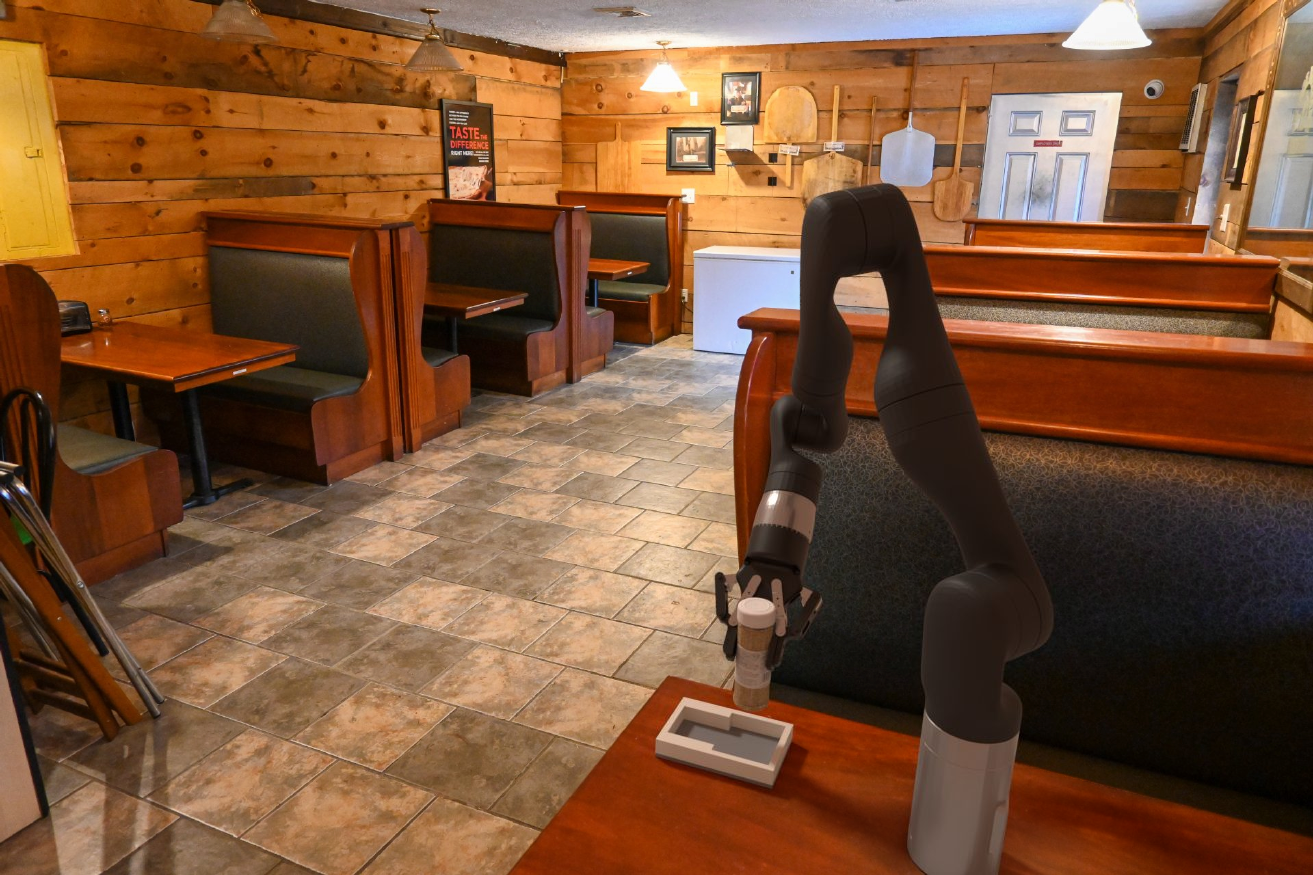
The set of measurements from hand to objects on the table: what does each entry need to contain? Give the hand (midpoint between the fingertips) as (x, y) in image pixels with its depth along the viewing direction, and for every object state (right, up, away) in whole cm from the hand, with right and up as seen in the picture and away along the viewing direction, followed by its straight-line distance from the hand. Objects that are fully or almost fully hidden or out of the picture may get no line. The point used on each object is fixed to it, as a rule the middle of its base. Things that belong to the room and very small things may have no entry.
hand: (749, 663), depth 103 cm
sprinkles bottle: (+1, -6, +4) cm, 7 cm away
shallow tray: (-2, -13, +7) cm, 14 cm away
